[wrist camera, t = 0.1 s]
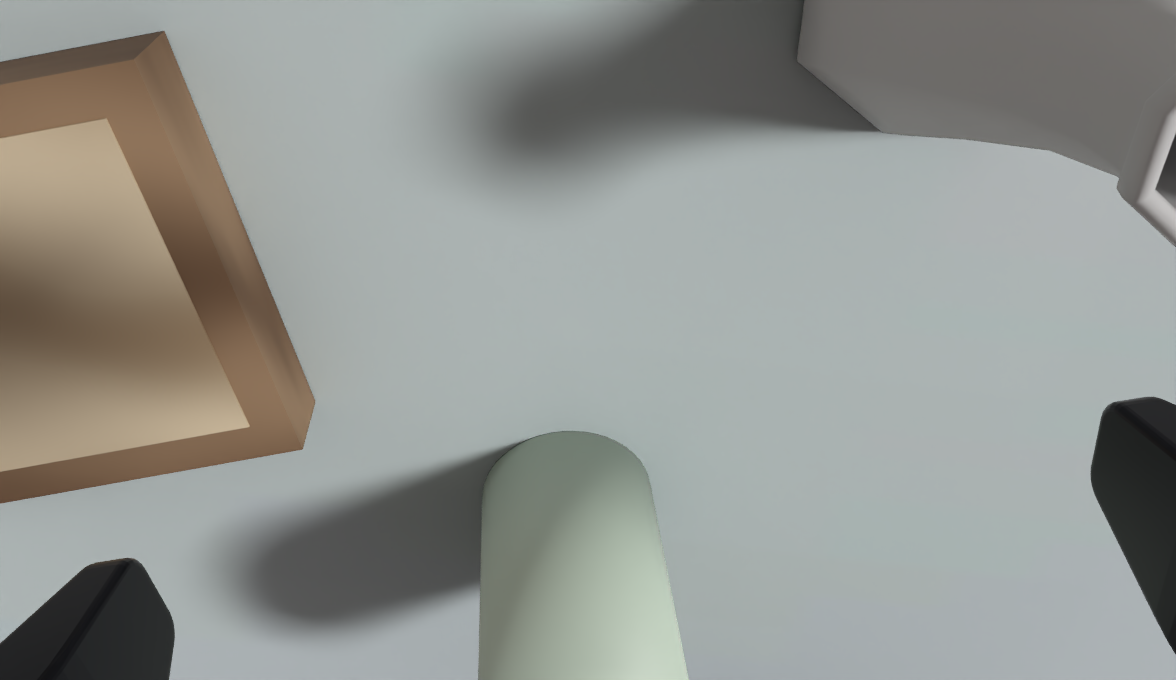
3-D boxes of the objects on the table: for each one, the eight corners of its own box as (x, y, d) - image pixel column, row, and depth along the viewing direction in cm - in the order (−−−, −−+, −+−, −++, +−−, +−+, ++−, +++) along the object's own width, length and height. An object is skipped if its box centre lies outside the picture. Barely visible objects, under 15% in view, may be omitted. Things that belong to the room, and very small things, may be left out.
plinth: (315, 401, 26) (302, 450, 24) (-45, 466, 26) (-83, 519, 24) (164, 30, 20) (133, 60, 18) (-291, 117, 20) (-364, 154, 19)
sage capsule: (660, 541, 30) (706, 782, 23) (501, 569, 30) (502, 816, 23) (638, 417, 27) (685, 649, 20) (464, 448, 27) (453, 689, 20)
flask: (740, 82, 22) (890, 309, 13) (895, -273, 18) (1229, -266, 10) (1006, 170, 24) (1283, 419, 15) (1194, -139, 20) (1694, -36, 12)
